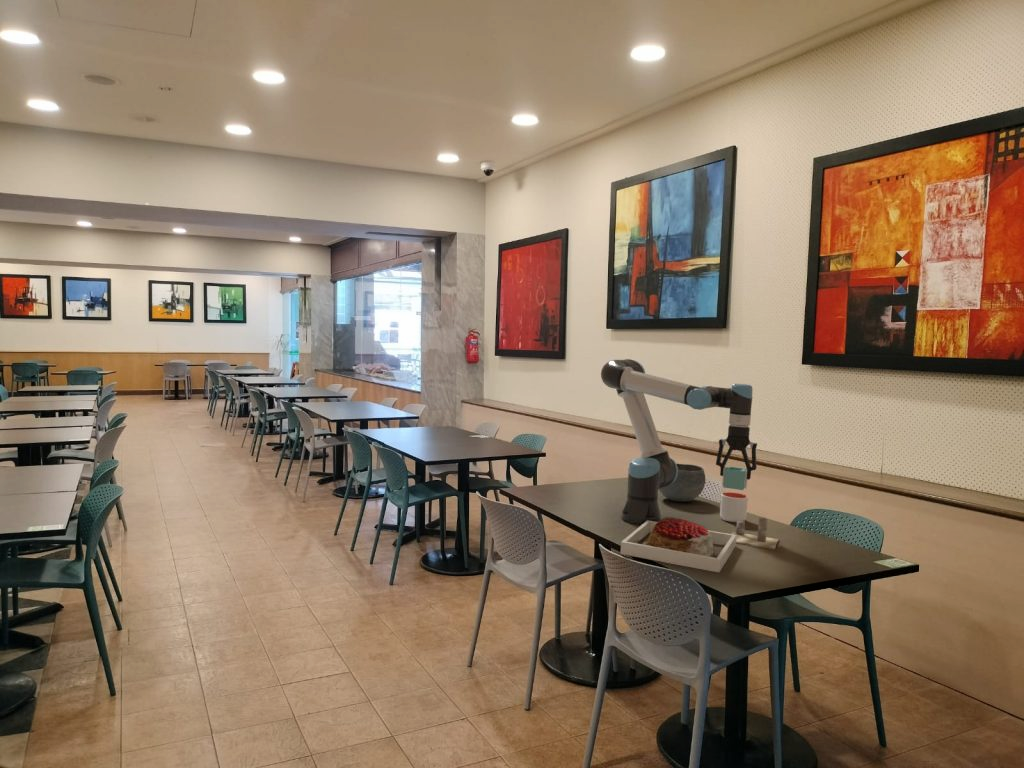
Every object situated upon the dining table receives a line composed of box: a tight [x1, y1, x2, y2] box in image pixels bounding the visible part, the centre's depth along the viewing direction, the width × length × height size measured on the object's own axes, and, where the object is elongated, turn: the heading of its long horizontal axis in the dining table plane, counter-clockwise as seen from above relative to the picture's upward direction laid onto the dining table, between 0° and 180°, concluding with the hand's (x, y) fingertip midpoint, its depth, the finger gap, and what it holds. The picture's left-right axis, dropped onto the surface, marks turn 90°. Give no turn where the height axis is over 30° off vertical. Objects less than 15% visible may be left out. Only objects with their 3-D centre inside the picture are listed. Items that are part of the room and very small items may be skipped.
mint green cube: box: [722, 465, 747, 491], centre depth 264 cm, size 7×7×7 cm
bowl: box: [658, 463, 706, 503], centre depth 308 cm, size 21×21×15 cm
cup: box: [719, 491, 749, 524], centre depth 279 cm, size 10×10×10 cm
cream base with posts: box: [730, 517, 779, 550], centre depth 251 cm, size 16×12×9 cm
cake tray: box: [620, 520, 737, 573], centre depth 237 cm, size 31×31×4 cm
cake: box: [635, 517, 715, 557], centre depth 235 cm, size 23×24×10 cm
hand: (734, 486), depth 264 cm, fingers closed on mint green cube, 7 cm apart
